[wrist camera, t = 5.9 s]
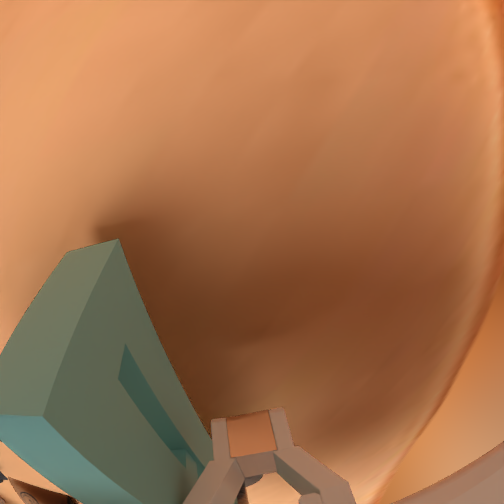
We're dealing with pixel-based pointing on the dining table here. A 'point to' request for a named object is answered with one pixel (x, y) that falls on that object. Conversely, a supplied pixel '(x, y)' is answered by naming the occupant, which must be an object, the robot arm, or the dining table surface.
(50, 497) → the sunglasses case
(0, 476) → the dark slate chunk
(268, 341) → the dining table surface
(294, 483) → the robot arm
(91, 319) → the gate
